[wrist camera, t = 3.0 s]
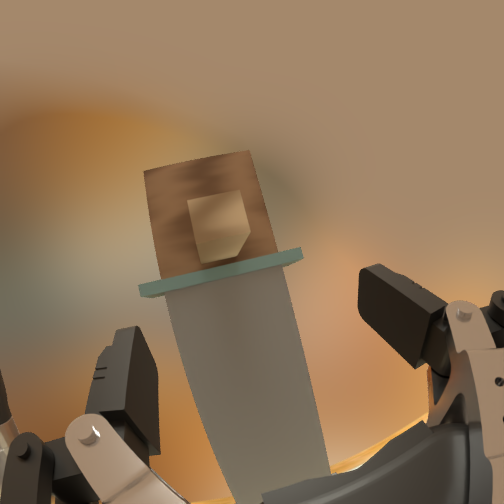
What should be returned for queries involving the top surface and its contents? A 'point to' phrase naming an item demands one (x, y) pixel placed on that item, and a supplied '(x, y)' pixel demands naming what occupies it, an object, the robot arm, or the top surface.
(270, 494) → the robot arm
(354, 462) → the top surface
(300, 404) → the stand
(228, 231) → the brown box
